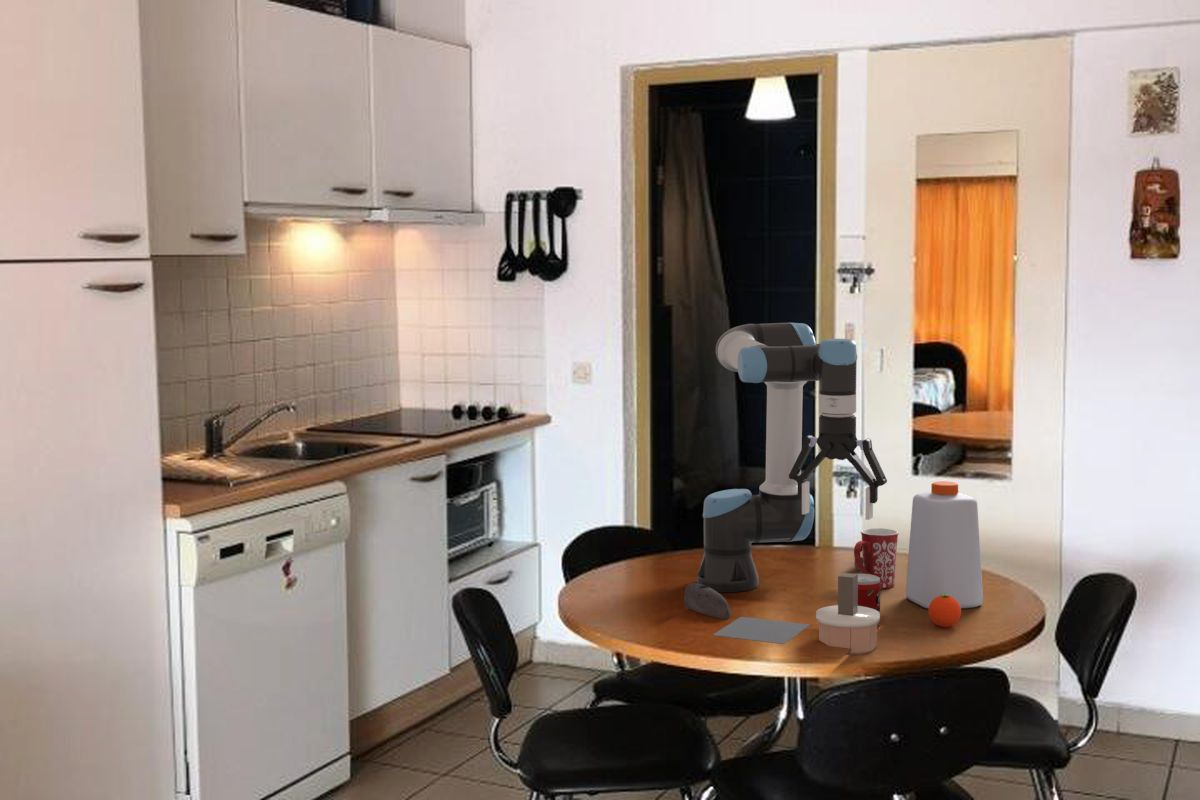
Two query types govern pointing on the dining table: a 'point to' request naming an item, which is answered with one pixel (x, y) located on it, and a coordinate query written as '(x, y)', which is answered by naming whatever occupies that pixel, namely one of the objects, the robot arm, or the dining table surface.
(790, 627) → the plate
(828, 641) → the pink faceted pot
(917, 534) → the plastic bottle
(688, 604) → the perforated stone tool
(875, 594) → the canned food
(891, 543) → the mug
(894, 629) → the dining table surface
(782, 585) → the dining table surface
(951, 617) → the clementine
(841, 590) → the lid
